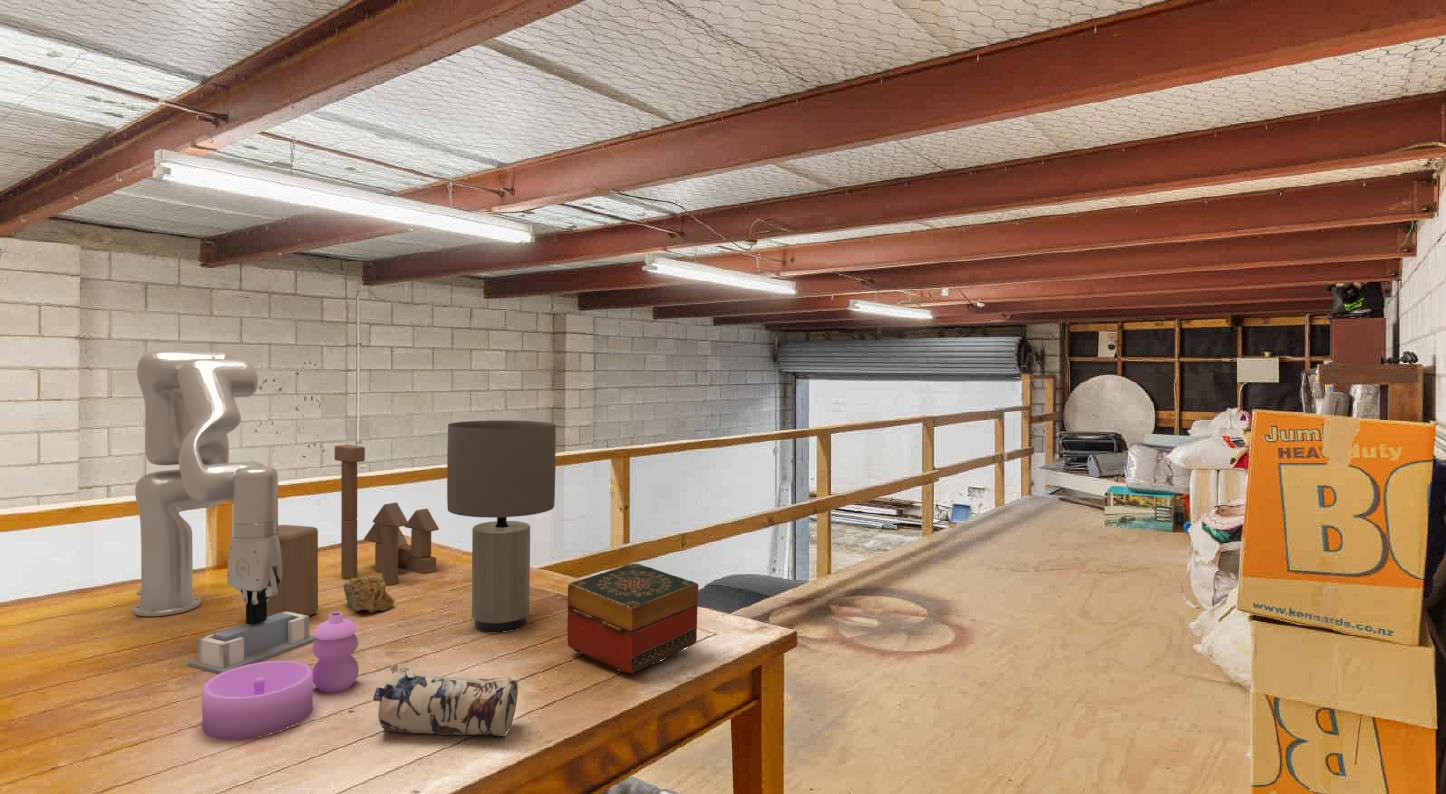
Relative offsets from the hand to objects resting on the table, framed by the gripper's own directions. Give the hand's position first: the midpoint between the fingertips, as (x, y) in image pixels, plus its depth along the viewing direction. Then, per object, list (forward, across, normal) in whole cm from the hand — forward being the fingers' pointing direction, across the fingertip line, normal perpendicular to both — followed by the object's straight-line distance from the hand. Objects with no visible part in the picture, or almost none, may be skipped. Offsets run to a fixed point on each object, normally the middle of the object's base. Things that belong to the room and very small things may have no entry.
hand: (256, 622), depth 151 cm
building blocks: (+6, -20, +52) cm, 56 cm away
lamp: (+6, +32, +34) cm, 47 cm away
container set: (+6, +26, -13) cm, 30 cm away
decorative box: (+6, +67, +31) cm, 74 cm away
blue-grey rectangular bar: (+5, 0, 0) cm, 5 cm away
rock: (+6, -3, +30) cm, 31 cm away
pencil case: (+6, +57, -9) cm, 58 cm away
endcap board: (+6, 0, 0) cm, 6 cm away
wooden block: (+6, -13, +16) cm, 22 cm away
